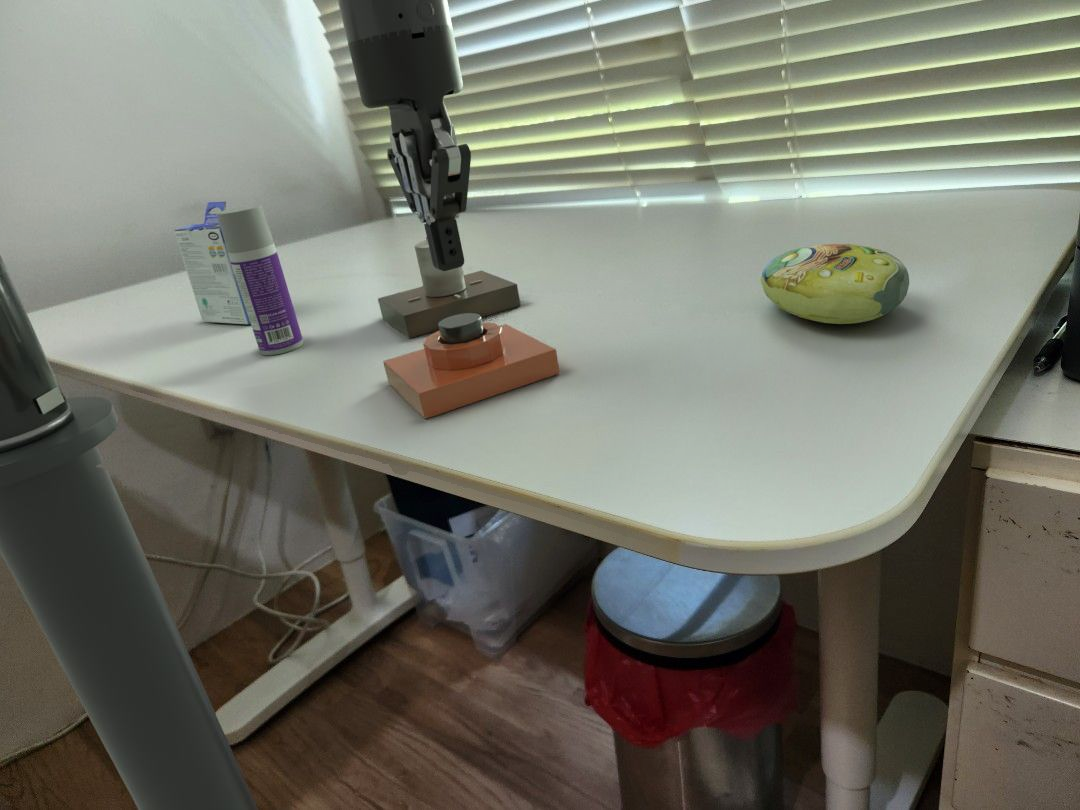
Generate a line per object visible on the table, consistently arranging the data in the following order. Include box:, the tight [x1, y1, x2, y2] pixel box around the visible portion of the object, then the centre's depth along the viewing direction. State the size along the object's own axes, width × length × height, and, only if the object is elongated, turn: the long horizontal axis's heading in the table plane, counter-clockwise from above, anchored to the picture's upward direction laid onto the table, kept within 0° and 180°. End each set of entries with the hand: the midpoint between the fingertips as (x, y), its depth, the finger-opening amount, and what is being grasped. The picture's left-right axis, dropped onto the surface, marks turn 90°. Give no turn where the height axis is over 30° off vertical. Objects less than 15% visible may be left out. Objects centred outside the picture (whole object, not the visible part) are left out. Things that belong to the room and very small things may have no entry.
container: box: [216, 203, 304, 356], centre depth 79 cm, size 5×5×15 cm
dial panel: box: [377, 270, 521, 339], centre depth 83 cm, size 13×10×3 cm
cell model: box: [760, 243, 910, 325], centre depth 65 cm, size 11×8×15 cm
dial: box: [414, 236, 466, 297], centre depth 82 cm, size 5×5×6 cm
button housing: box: [382, 321, 561, 420], centre depth 63 cm, size 12×10×4 cm
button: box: [438, 313, 484, 345], centre depth 62 cm, size 4×4×2 cm
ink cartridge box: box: [173, 200, 251, 325], centre depth 94 cm, size 10×6×14 cm, turn 58°
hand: (449, 267), depth 60 cm, fingers closed
